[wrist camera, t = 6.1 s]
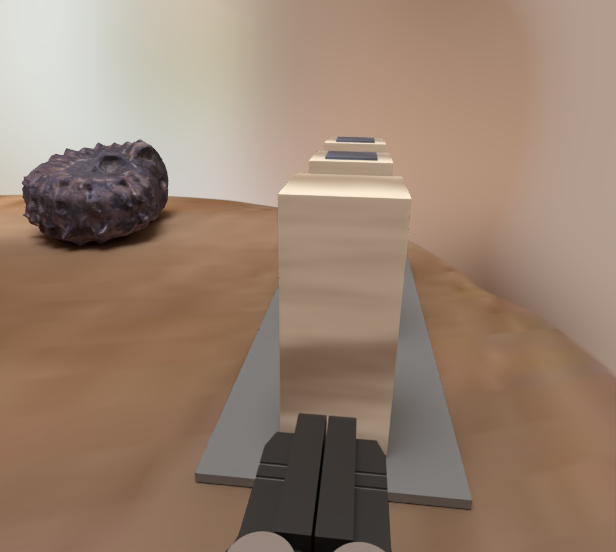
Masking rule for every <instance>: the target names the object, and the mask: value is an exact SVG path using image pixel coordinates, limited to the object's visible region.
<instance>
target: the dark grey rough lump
mask: <svg viewBox="0 0 616 552" xmlns="http://www.w3.org/2000/svg"><path fill="white" fill-rule="evenodd" d="M22 184H23V185H24V187H23V188H22V190H23V196H22V197H23V198H24V200H25V201H24V202H25V203H26V210H25V214H24V215H23V216H25V217H27V218H28V219H29V223H31V224H33V225H36V226H38V227H39V229H40V231H41V232H42V233H44V234H45V236H48V237H52V238H55V239H57V240H60V241H68V242H73V243H75V244H76V245H79V246H84V245H86V244H87V243H89V242H90V241H97V242H98V243H100V244H102V243H104V242H106V241H108V240H110V239H113V238H115V237H121V236H126V235H129V234H131V233H134V232H137V231H139V230H142V229H144V228H145V227H147V226H148V224H149V222H150V221H153V220H156V219H157V218H158V217H159V215H160V213H161V211H162V210H163V208H164V207H165V205H166V203H167V200H168V175H167V170H166V167H165V164H164V163H163V161H162V159H161V157H160V155H159V154H158V152H157V151H156V150H155V149H154V148H153V147H152V146H151V145H149V144H147V143H145V142H143V141H142V140H138V141H136V142H134V143H130V142H126V143H124V144H123V145H119V144H116V143H113V144H112V145H110V146H104V145H102V144H100V143H97V144H96V147H95V148H94V149H91V148H82V149H81V150H80V151H74V150H70V149H66V150H65V153H64V155H58V154H55V155H52V156H51V157H50V159H49V161H48V162H46V163H42V164H40V165H39V166H38V167H36V168H35V169H34V170H33V171H32V172H30V174H29V175H28V176H27V177H24V181H23V182H22Z"/></svg>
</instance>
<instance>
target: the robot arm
mask: <svg viewBox="0 0 616 552" xmlns="http://www.w3.org/2000/svg"><path fill="white" fill-rule="evenodd" d="M356 423H357V418H353V417H341V416H329V418H328V426H327V415H318V414H306V413H299V414H298V418H297V423H296V428H295V432H294V433H287V432H276V433H275V434H274V435H273V437H272V438H271V439H270V440H269V441H268V442H267V443H266V444H265V446H264V449H263V453H262V456H261V460H260V465H259V467H258V470H257V474H256V479H255V481H254V484H253V487H252V491H251V494H250V498H249V501H248V505H247V508H246V512H245V515H244V519H243V522H242V525H241V529H240V532H239V534H238V537H237V538H236V540H235V542H234V543H233V544H232V546H231V547H230V548H229V549H228V550H227V551H226V552H392V551H391V539H390V522H389V504H388V486H387V468H386V456H385V454H384V452H383V451H382V449H381V447H380V445H379V444H378V442H377V440H365V439H356ZM326 430H327V435H326Z"/></svg>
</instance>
